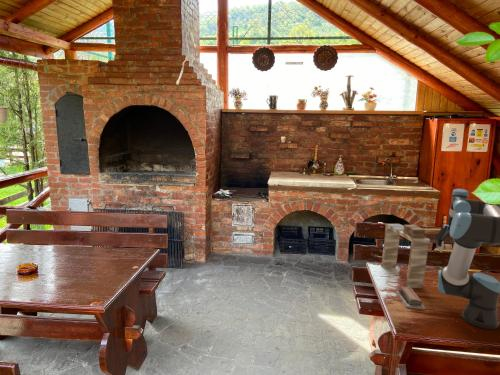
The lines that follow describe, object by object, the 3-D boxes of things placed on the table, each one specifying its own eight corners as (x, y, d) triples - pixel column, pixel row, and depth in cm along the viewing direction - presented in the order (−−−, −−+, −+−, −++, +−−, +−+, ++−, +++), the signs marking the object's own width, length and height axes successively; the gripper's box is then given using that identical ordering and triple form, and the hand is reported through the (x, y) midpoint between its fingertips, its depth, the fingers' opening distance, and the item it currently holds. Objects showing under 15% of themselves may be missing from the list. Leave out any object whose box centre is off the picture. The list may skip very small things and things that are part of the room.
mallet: (446, 237, 206) (448, 229, 205) (412, 237, 203) (413, 229, 202) (435, 232, 216) (436, 224, 215) (403, 232, 213) (404, 224, 212)
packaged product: (395, 284, 199) (413, 286, 198) (394, 292, 200) (412, 294, 199) (407, 300, 181) (426, 301, 180) (405, 308, 182) (425, 310, 181)
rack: (423, 287, 207) (430, 239, 201) (407, 287, 205) (414, 239, 200) (394, 265, 238) (399, 223, 232) (380, 266, 236) (385, 223, 231)
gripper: (470, 212, 200) (464, 245, 206) (432, 215, 196) (426, 249, 202) (481, 216, 193) (474, 251, 199) (441, 220, 189) (435, 255, 195)
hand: (450, 250), depth 201 cm, fingers open, 13 cm apart
